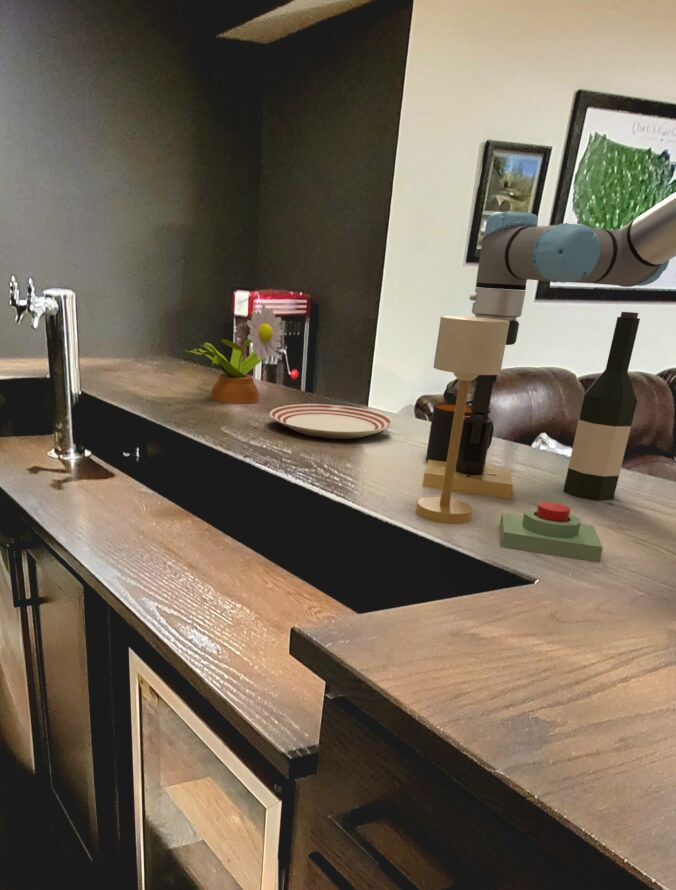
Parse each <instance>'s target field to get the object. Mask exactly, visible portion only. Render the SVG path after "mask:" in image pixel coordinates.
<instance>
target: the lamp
mask: <svg viewBox="0 0 676 890" xmlns="http://www.w3.org/2000/svg"><path fill="white" fill-rule="evenodd" d="M509 322H510V321H507V320H501V319H492V318H480V317H475V316H466V315H465V316H464V315H441V316H440V320H439V327H438V333H437V340H436V346H435V347H436V348H435V353H434V360H433V368H434V369H435V370H438V371H443V372H447V373H453V375H454V377H455V378H457V379H458V380H459V381H458V388H457V394H456V401H455V405H456V406H455V412H454V418H453V424H452V431H451V437H450V443H449V449H448V455H447V462H446V468H445V474H444V480H443V487H442V489H441V493H440V494H441V495H440V496H425V497H421V498H419V499H417V501H416V506H415V514H416V515H418V516H419V517H420V518H423V519H425V520H428V521H431V522H435V523H441V524H448V525H458V524H459V525H461V524H466V523H469V522H470V521H471V520H472V514H473V507H472V506H471V504H468V503H466V502H464V501H461V500H459V499H453V498H452V493H453V491H452V487H453V481H454V475H455V469H456V463H457V457H458V450H459V444H460V438H461V432H462V426H463V420H464V414H465V408H466V406H467V403H468V396H469V389H470V383H471V381H474V379H475V378H476V377H478V375H497V376H498V375H500V374H501V373H502V366H503V361H504V355H505V350H506V346H507V345H506V339H507V334H508V328H509Z"/></svg>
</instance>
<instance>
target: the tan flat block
mask: <svg viewBox="0 0 676 890" xmlns="http://www.w3.org/2000/svg"><path fill="white" fill-rule="evenodd" d="M445 468H446V462H443V461H435V460H427V464H426V467H425V470H424V473H423V474H424V475H423V481H422V488H428V489H436V490H442V487H443V480H444V474H445ZM513 487H514V483H513V476H512V471H511V469H505V468H497V467H489V466H485V467H484V472H483V474H481V475H468V474H463V473H459V472H457V471H455V475H454V481H453V487H452V492H456V493H463V494H471V495H479V496H485V497H491V498H499V499H506V500H511V497H512V493H513Z"/></svg>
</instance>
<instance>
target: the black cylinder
mask: <svg viewBox="0 0 676 890" xmlns="http://www.w3.org/2000/svg"><path fill="white" fill-rule="evenodd" d="M466 417H469V418H470V416H464V420H463V426H462V432H461V438H460V444H459V450H458V457H457V463H456V469H455V471H457V472H459V473H463V474H468V475H481V474H483V472H484V467H486V462H487V461H486V460H487V456H488V455H487V454H488V450H489V449H488V444H489V439H490V433H491V428H492V423H494V421H493V420H492V419H491V418H489V419H488V420H487V422H486V430H485V435H484V441H483V447H482V452H481V458H480V463H474V462H466V461H462V460H463V454H464V448H465V442H466V436H467V430H468V424H469V422H465V419H466ZM490 419H491V420H490Z"/></svg>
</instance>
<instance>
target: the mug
mask: <svg viewBox="0 0 676 890" xmlns="http://www.w3.org/2000/svg"><path fill="white" fill-rule="evenodd" d="M455 406H456V404H453V403H452V404H449V403H439V404H434V406H433V410H432V415H431V422H430V430H429V436H428V443H427V449H426V456H425V459H426V461H428V460H435V461H443V462H447V455H448V449H449V443H450V437H451V431H452V424H453V418H454V412H455ZM470 408H471V406H467V405H466V408H465V414H464V416H469V414H470V412H472V411H471V409H470ZM488 419H490V420H492V419H491V418H489V417H488ZM494 429H495V428H494V422H492V428H491V433H490V439H489V444H488V450H489V449H490V447H491V445H492V440H493V436H494Z"/></svg>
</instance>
